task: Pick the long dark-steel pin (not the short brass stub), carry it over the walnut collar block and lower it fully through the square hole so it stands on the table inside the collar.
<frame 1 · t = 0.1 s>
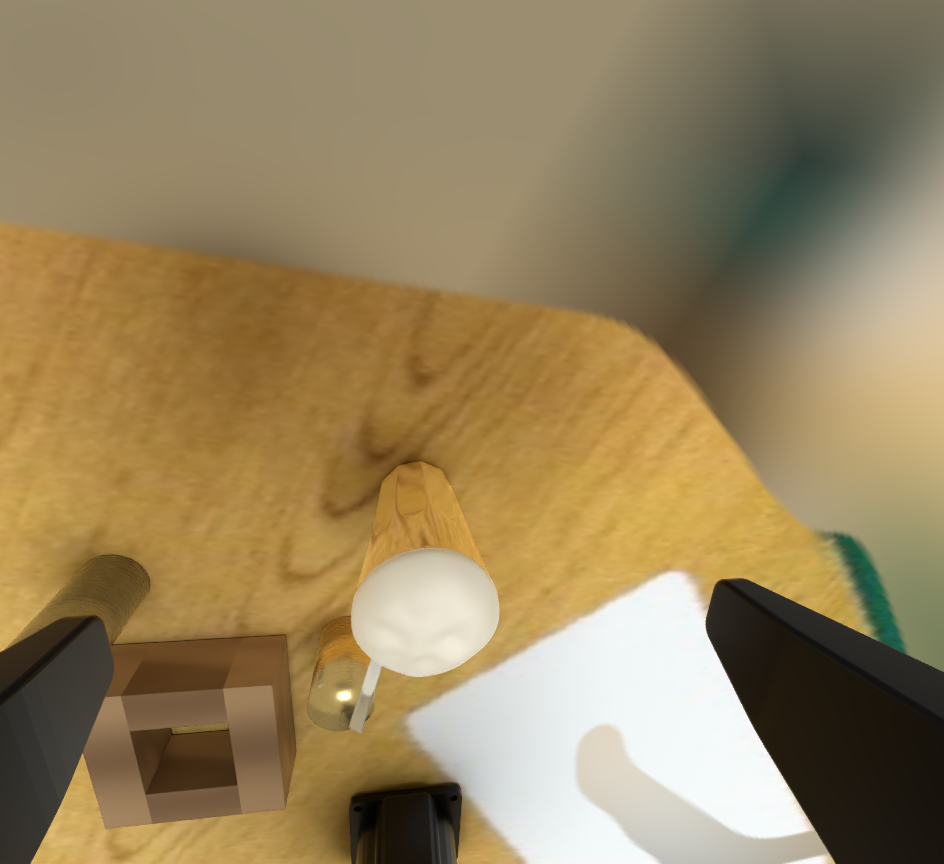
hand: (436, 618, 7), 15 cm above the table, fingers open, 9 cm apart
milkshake: (409, 496, 23), on the table
short pin: (348, 638, 25), on the table
long pin: (115, 581, 22), on the table
collar: (208, 702, 25), on the table
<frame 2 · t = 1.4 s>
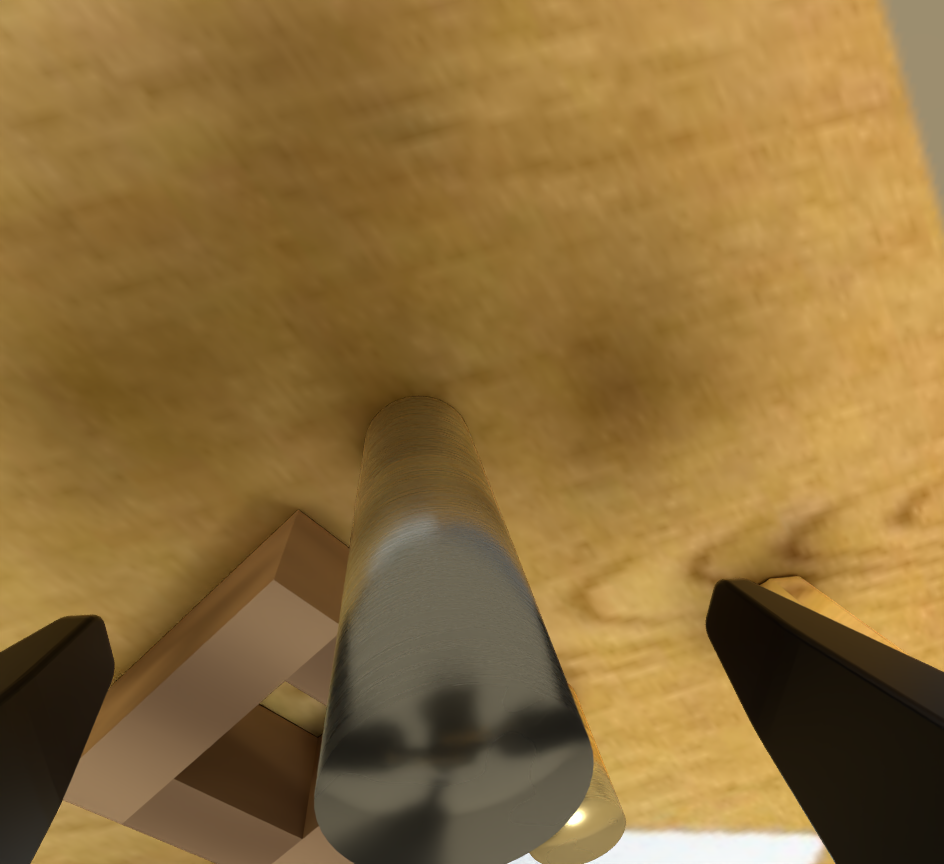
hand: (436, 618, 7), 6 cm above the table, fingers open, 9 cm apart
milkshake: (758, 610, 18), on the table
short pin: (538, 708, 17), on the table
long pin: (418, 446, 13), on the table
collar: (312, 671, 15), on the table
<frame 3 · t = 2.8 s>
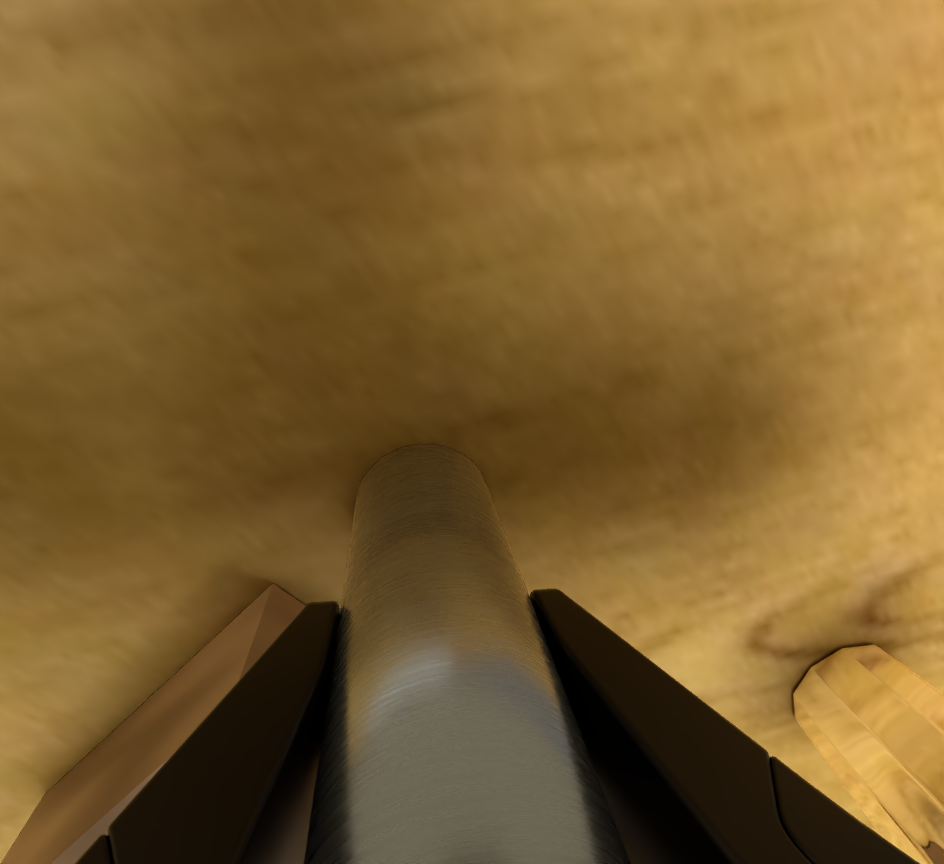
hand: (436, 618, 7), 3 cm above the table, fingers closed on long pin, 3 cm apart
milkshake: (824, 682, 15), on the table
long pin: (423, 505, 11), on the table, touching gripper
collar: (293, 769, 13), on the table
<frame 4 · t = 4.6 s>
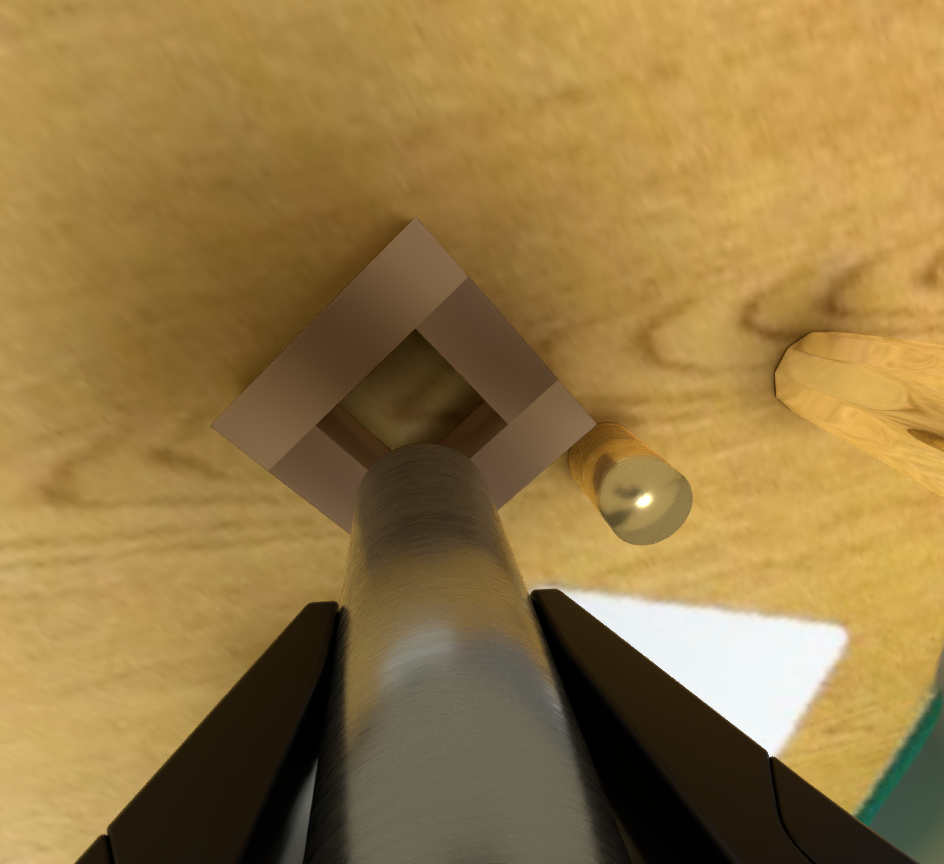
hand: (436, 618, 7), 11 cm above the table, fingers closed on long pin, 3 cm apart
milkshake: (798, 370, 20), on the table
short pin: (602, 456, 20), on the table
long pin: (423, 504, 11), point 8 cm above the table, touching gripper
collar: (411, 395, 18), on the table
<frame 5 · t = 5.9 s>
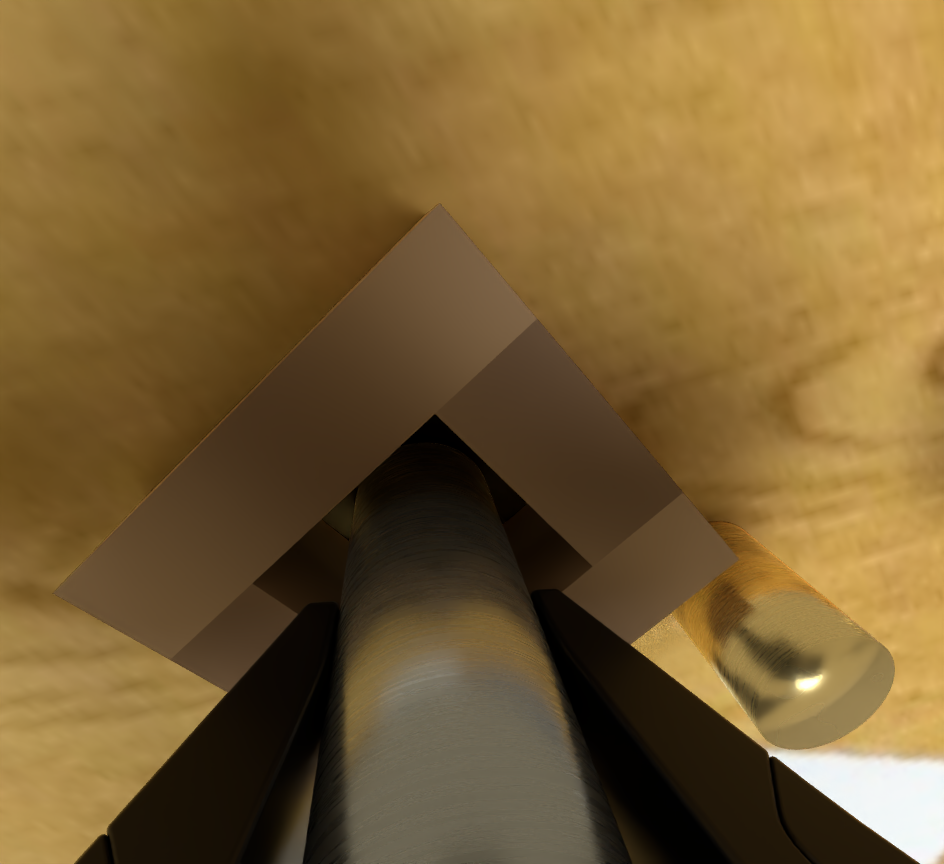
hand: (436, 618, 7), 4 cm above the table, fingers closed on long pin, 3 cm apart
short pin: (704, 568, 13), on the table
long pin: (423, 504, 11), point 1 cm above the table, touching gripper
collar: (421, 491, 11), on the table
when the fingers open (4 cm above the table, at t = 6.6 s): long pin stays where it is, resting in collar.
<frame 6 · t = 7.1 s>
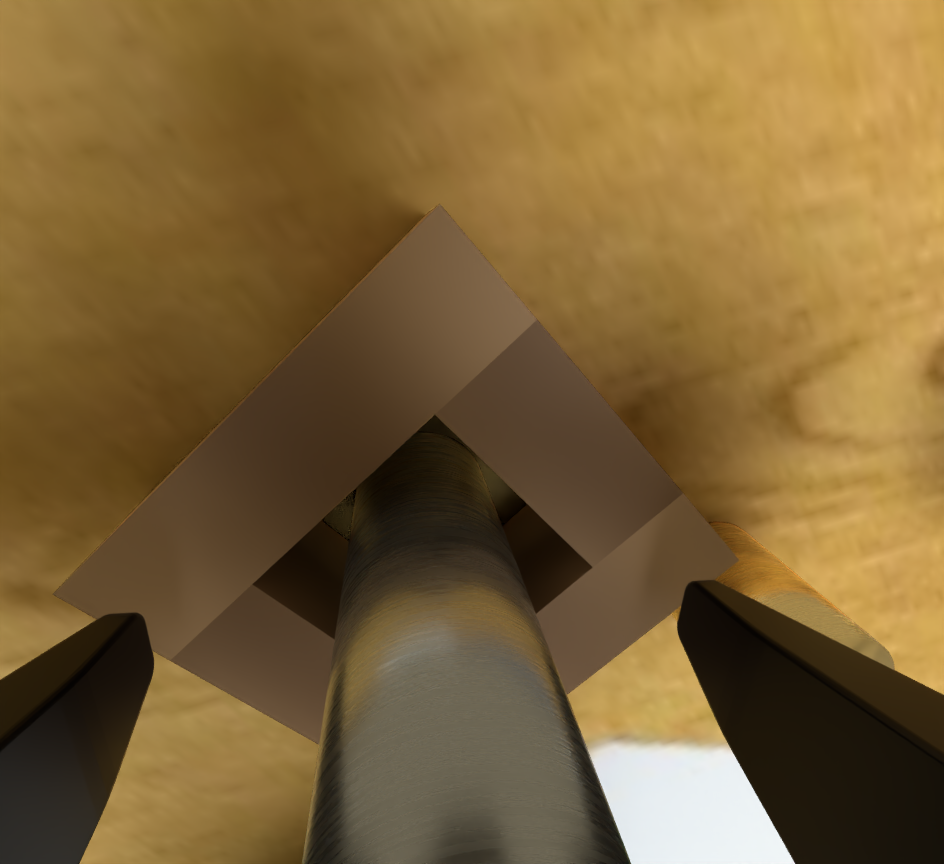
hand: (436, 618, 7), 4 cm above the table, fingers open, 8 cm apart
short pin: (704, 568, 13), on the table
long pin: (421, 491, 11), resting in collar
collar: (421, 491, 11), on the table
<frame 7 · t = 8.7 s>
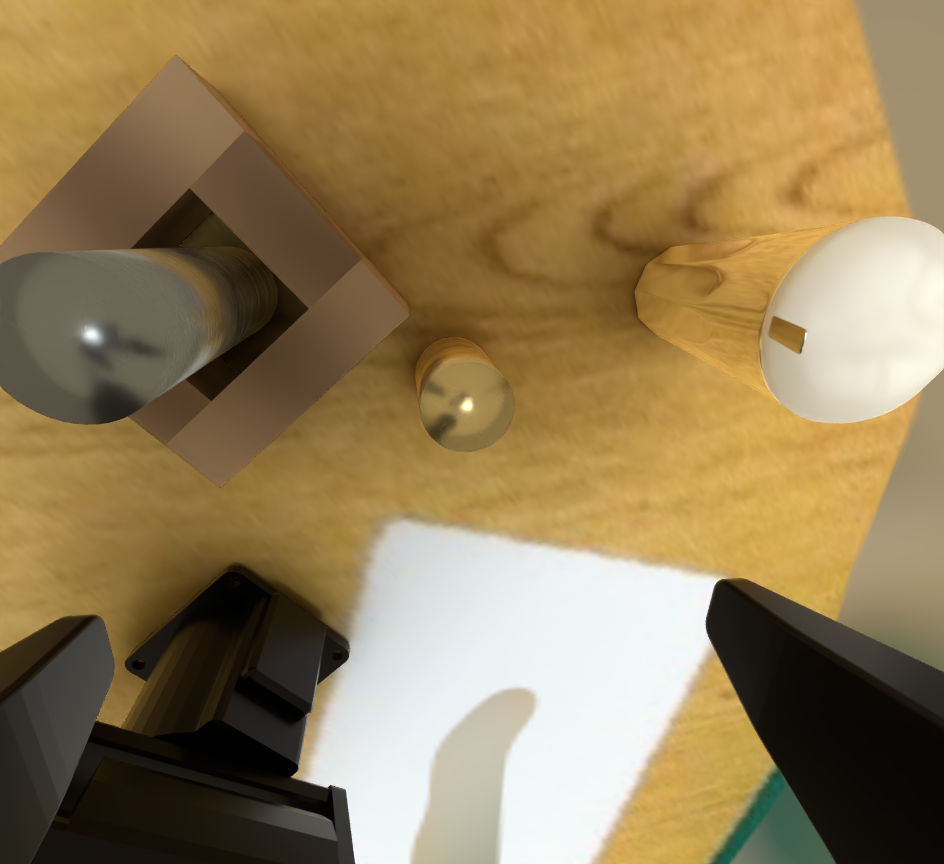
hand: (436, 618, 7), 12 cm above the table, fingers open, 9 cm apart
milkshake: (662, 291, 19), on the table
short pin: (453, 374, 19), on the table
long pin: (233, 291, 17), resting in collar
collar: (233, 291, 16), on the table
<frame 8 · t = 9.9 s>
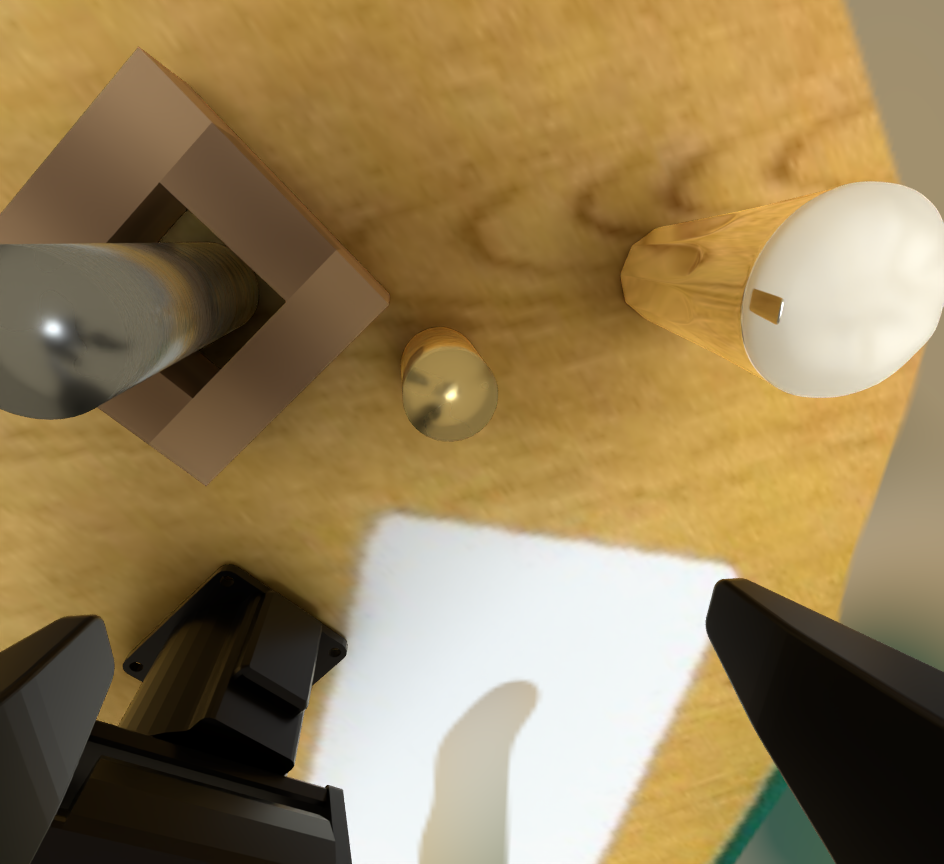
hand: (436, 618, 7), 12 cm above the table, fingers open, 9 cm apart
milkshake: (648, 274, 19), on the table
short pin: (439, 365, 18), on the table
long pin: (213, 288, 16), resting in collar
collar: (213, 288, 16), on the table
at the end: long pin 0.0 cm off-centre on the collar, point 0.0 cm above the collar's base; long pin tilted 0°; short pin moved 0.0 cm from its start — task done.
